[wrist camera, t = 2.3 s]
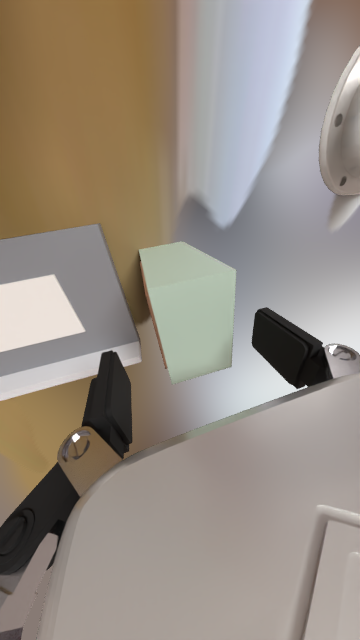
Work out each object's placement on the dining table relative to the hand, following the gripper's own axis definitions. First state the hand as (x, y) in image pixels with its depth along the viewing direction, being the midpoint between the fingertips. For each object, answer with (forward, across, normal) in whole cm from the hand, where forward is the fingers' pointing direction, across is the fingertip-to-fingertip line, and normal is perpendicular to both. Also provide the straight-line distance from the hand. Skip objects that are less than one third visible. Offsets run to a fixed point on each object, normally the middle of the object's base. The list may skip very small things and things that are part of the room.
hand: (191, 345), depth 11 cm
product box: (+12, -1, 0) cm, 12 cm away
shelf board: (+13, +14, 0) cm, 18 cm away
